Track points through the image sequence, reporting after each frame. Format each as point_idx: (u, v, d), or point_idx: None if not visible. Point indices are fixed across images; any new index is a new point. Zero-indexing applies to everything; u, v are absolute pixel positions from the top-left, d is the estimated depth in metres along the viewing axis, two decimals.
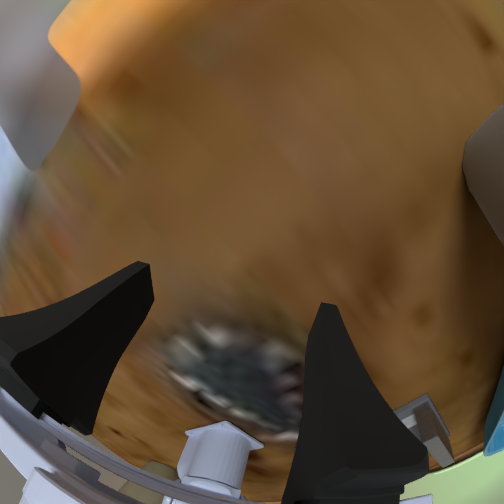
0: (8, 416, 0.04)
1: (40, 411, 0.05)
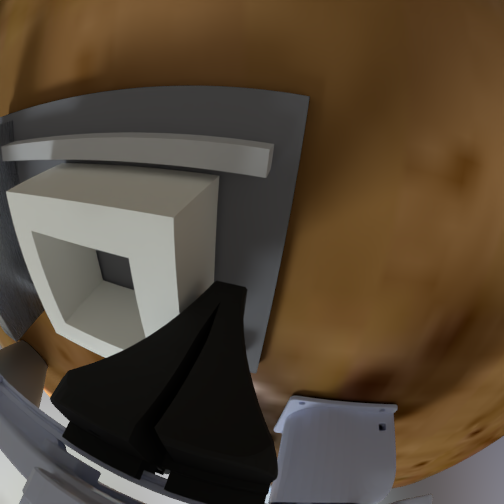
0: (8, 416, 0.04)
1: (40, 411, 0.05)
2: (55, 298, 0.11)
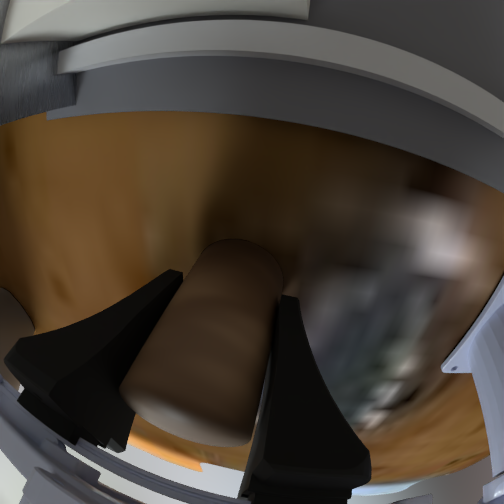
0: (8, 416, 0.04)
1: (40, 411, 0.05)
2: None
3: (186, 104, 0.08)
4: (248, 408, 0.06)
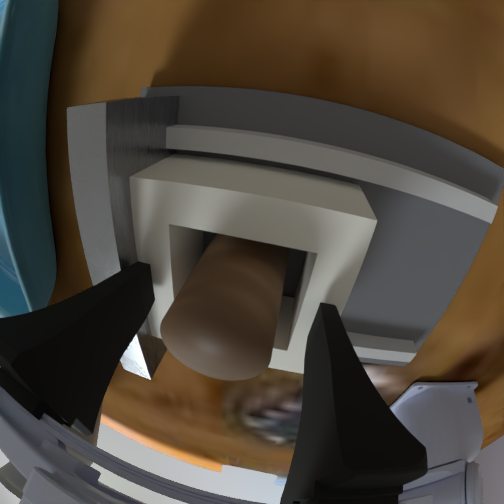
0: (8, 416, 0.04)
1: (40, 411, 0.05)
2: (174, 298, 0.12)
3: None
4: (268, 329, 0.09)
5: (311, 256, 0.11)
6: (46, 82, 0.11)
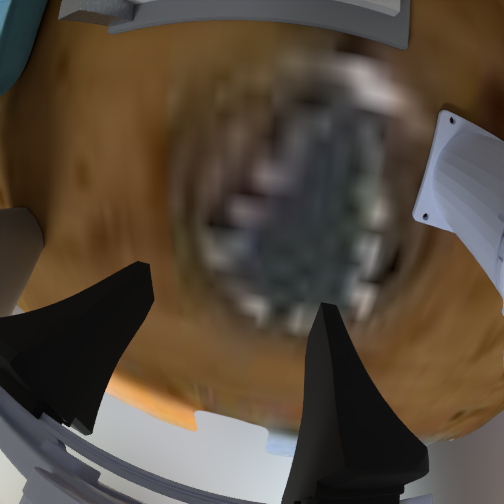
0: (8, 416, 0.04)
1: (40, 411, 0.05)
2: None
3: (204, 14, 0.12)
4: None
5: None
6: None
